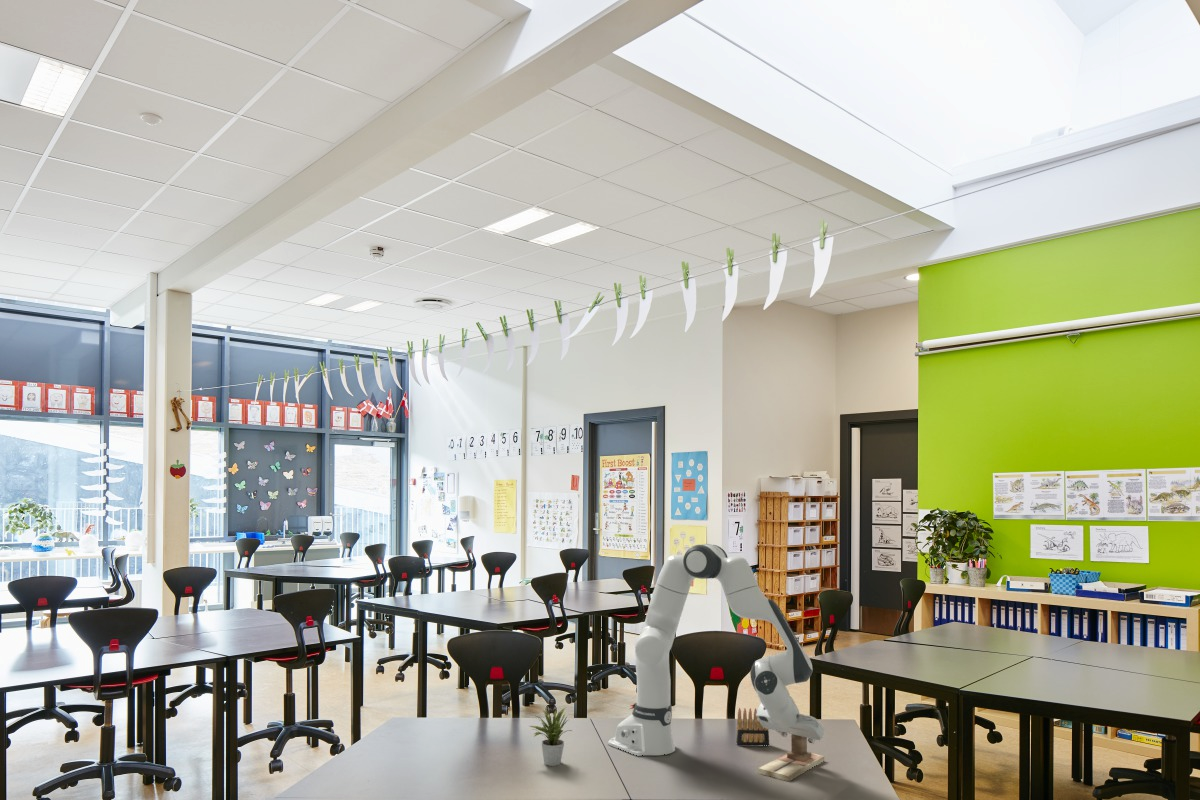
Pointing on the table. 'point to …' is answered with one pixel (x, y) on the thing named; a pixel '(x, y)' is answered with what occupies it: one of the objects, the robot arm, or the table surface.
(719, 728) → the table surface
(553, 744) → the house plant
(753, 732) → the ammunition clip
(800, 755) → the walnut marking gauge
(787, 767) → the maple board
